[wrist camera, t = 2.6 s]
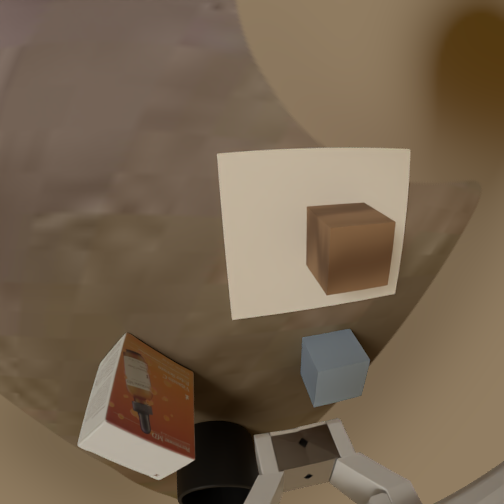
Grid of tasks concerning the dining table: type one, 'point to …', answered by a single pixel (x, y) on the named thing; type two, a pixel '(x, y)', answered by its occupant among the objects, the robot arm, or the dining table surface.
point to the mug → (218, 466)
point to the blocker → (349, 247)
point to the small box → (141, 411)
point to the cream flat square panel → (300, 219)
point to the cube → (333, 367)
